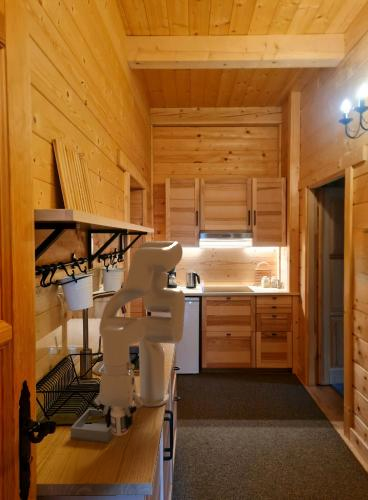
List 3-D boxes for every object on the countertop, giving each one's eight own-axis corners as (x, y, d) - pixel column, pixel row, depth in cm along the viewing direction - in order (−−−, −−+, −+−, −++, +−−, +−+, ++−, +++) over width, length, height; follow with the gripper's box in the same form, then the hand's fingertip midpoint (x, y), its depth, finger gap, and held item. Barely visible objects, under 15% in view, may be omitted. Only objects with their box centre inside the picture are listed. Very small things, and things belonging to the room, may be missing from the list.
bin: (88, 418, 116) (88, 408, 116) (122, 421, 114) (122, 411, 114) (70, 439, 105) (70, 427, 105) (107, 443, 102) (107, 431, 102)
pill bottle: (130, 424, 105) (129, 397, 104) (128, 435, 100) (126, 407, 99) (112, 425, 105) (111, 398, 104) (109, 436, 100) (108, 407, 99)
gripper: (148, 363, 102) (150, 421, 104) (95, 360, 105) (97, 415, 107) (140, 375, 95) (143, 436, 97) (83, 371, 98) (86, 430, 100)
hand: (119, 425), depth 102 cm, fingers closed on pill bottle, 5 cm apart
